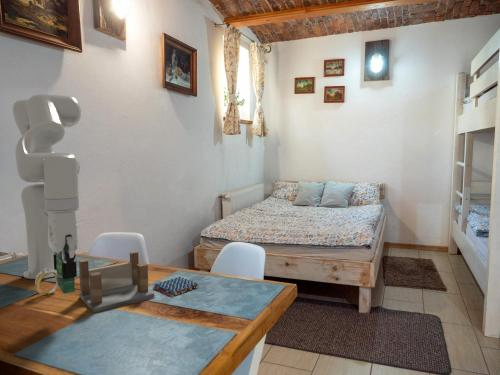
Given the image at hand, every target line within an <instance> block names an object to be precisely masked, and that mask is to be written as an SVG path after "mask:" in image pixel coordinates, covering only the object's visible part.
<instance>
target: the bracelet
mask: <svg viewBox="0 0 500 375" xmlns="http://www.w3.org/2000/svg"><path fill="white" fill-rule="evenodd" d="M43 273H44V274H43ZM47 273H52V274H54V275H55V276H54V277H55V279H56V280H55V281H56V282H55V284H54V286H53V287H52V288H51V289H47V290H46V291H45V290H44V291H43V290H41V288H40V283H41V281H42V280H43V279H42V278H43V277H44V276H45V275H47ZM41 274H42V275H41ZM40 275H41V276H40ZM34 280H35V282H34V286H35V289H36V291H38V293H40V294H42V295H50V294H52V293H53V292H54V291H56V290H57V288H58V287H59V286H58V282H57V271H55V270H52V267H51V269H50V268H49V269H47V267H46V268H44V270H41V272H40V273H39V274H38V275H37V277H36V279H34Z"/></svg>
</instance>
